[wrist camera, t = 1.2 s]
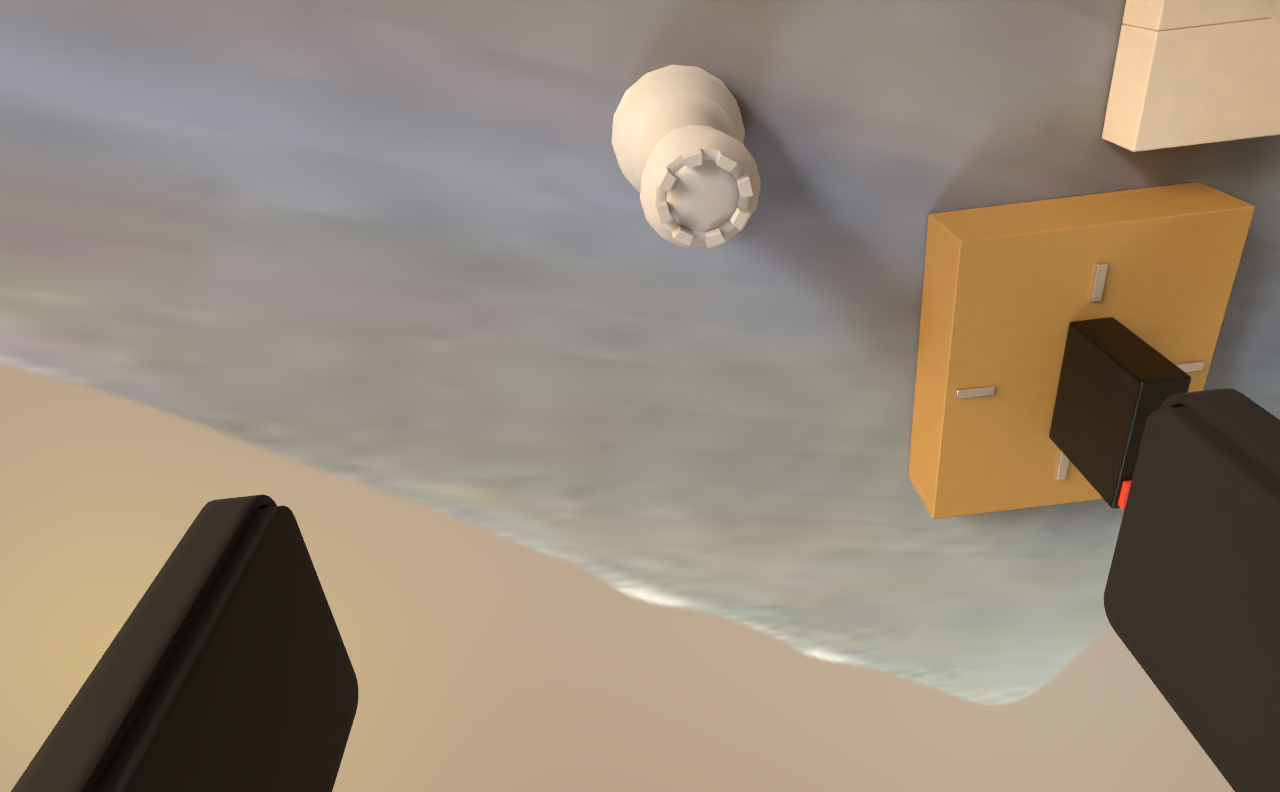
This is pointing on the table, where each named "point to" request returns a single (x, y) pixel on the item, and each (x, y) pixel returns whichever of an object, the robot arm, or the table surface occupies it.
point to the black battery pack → (1109, 402)
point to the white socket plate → (1195, 73)
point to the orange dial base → (1053, 326)
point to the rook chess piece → (687, 156)
